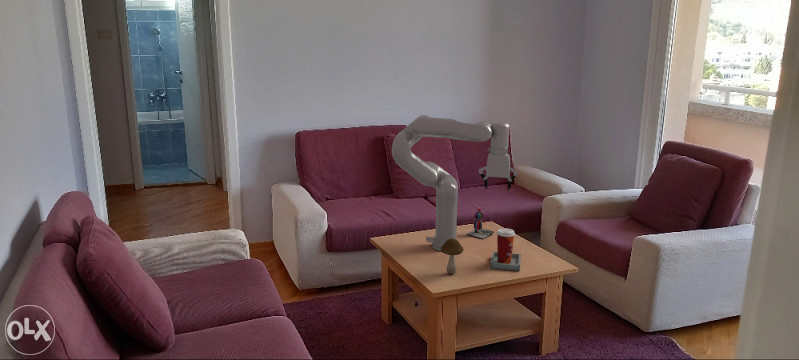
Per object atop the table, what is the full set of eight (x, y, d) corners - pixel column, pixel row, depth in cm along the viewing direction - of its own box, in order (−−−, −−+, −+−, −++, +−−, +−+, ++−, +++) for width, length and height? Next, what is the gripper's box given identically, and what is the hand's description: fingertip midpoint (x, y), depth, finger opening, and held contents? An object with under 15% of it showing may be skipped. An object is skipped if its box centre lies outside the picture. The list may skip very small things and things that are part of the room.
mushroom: (462, 268, 244) (463, 234, 240) (462, 279, 233) (464, 243, 229) (440, 267, 244) (441, 233, 241) (439, 278, 233) (440, 242, 230)
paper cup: (513, 266, 245) (515, 234, 241) (494, 264, 246) (496, 233, 243) (513, 259, 252) (515, 228, 249) (495, 258, 253) (496, 227, 250)
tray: (490, 268, 244) (490, 263, 243) (492, 256, 257) (492, 251, 256) (519, 271, 241) (519, 265, 240) (520, 259, 254) (520, 253, 254)
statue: (483, 241, 280) (483, 213, 275) (466, 237, 285) (466, 209, 280) (494, 233, 288) (494, 205, 282) (478, 229, 293) (478, 201, 288)
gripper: (478, 151, 254) (476, 189, 258) (519, 153, 250) (516, 192, 254) (480, 148, 261) (478, 185, 265) (519, 150, 257) (517, 188, 261)
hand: (497, 188), depth 260 cm, fingers open, 9 cm apart
